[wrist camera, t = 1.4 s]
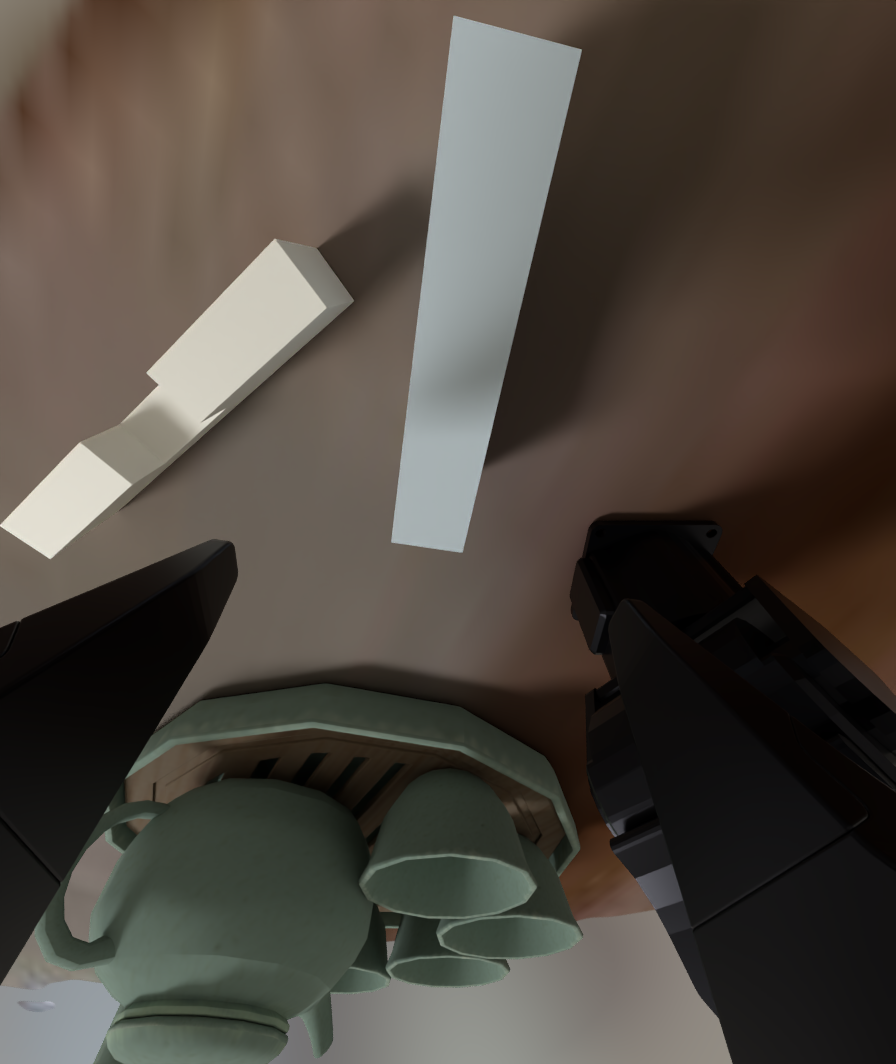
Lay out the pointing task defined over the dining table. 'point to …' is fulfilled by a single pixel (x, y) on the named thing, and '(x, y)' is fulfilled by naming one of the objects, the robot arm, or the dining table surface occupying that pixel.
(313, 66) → the dining table surface
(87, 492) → the slotted rib
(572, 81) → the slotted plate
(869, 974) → the robot arm
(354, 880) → the tea set
